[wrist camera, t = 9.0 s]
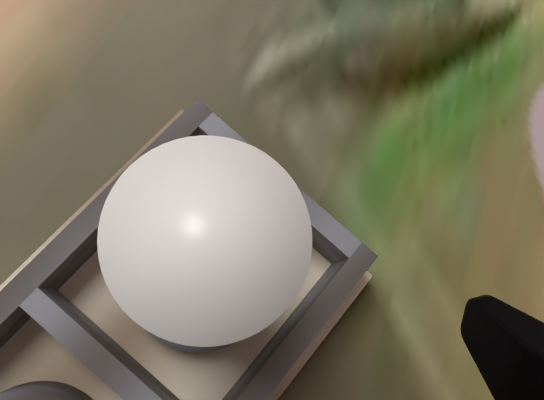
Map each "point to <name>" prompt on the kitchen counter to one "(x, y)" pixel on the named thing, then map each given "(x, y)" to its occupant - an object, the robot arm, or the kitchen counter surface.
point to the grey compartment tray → (137, 341)
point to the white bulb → (204, 242)
